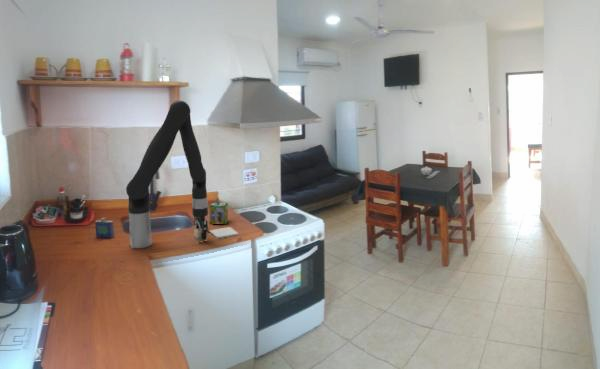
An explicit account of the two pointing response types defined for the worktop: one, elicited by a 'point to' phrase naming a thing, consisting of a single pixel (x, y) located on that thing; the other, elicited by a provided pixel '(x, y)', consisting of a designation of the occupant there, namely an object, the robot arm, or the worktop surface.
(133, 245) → the robot arm
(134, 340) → the worktop surface
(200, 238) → the maple block
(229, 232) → the tile
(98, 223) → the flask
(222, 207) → the chalk box
